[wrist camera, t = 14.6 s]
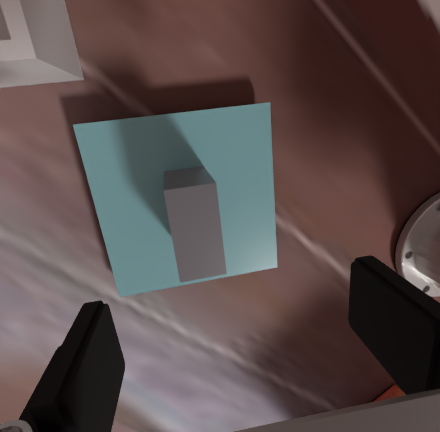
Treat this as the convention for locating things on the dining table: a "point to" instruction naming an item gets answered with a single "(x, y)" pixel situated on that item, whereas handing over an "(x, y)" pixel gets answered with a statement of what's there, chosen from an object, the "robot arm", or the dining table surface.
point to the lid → (183, 195)
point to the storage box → (36, 43)
